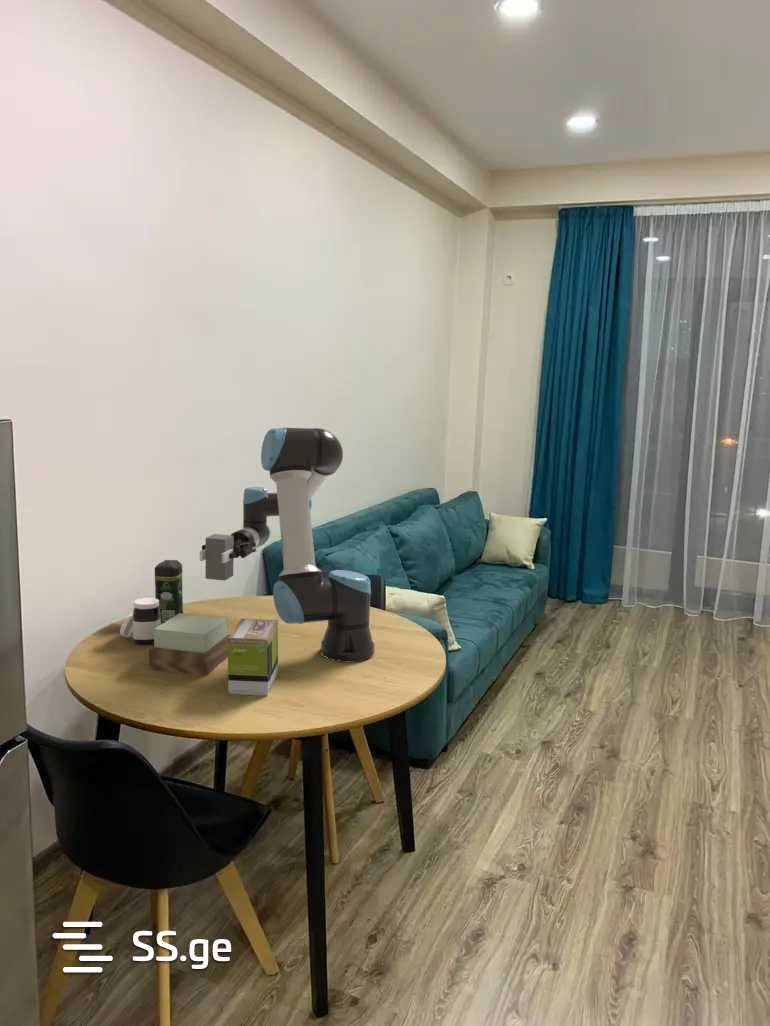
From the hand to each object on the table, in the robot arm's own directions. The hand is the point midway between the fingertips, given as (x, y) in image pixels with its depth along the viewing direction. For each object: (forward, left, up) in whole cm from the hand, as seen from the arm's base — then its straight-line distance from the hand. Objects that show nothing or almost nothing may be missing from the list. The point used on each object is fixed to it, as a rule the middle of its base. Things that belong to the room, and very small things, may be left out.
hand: (212, 557), depth 214 cm
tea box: (-32, +11, -25) cm, 42 cm away
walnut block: (-9, +13, -26) cm, 30 cm away
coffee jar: (+25, -2, -25) cm, 36 cm away
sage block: (-9, +13, -19) cm, 25 cm away
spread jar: (+15, +14, -25) cm, 33 cm away
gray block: (+3, -4, -7) cm, 9 cm away
